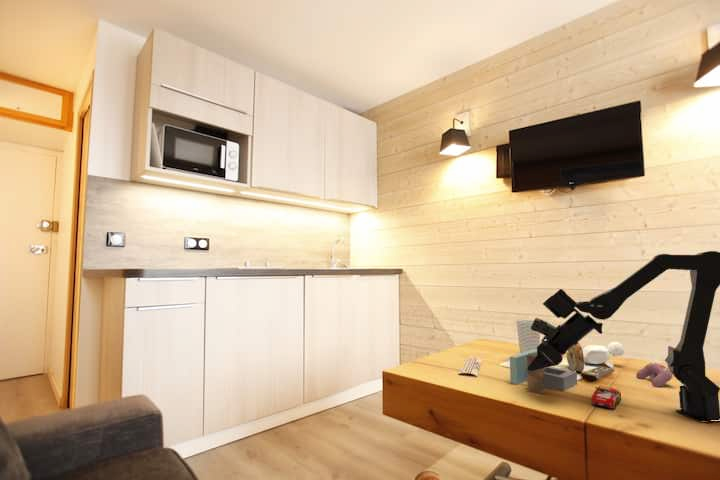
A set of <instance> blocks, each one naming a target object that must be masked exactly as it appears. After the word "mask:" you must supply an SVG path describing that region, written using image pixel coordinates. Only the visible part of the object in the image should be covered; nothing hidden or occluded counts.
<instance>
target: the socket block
mask: <svg viewBox="0 0 720 480" xmlns="http://www.w3.org/2000/svg"><path fill="white" fill-rule="evenodd" d="M577 374H578V372H575V371H572V370H571V369H570V370H569V369H565V368H564V369H563V368H559V367H555V366H550V367H546V368H544V379H545V388H550V389H554V390H558V391H563V392H565V391H567V390H569V389H571V388H574V387H575V386H576V385H578V375H577Z"/></svg>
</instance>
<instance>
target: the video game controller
mask: <svg viewBox="0 0 720 480" xmlns="http://www.w3.org/2000/svg"><path fill="white" fill-rule="evenodd" d="M635 375H636V376H635V377H636V378H637V379H640V380H641V379H642V380H643V379H646V378H649V381H651V386H653V387H656V388H657V387H663V386H664V385H665V384H667V383H668V382H669V381H671V380H672V378H673V374H672V373H671V372H670V370H669V369H668V367H667V366H665V365H663V364H660V363H654V362H653V363H652V362H649V363H648V364H646V365H644V367H642V368H641V369H639V370H638V371H637V372H636V374H635Z"/></svg>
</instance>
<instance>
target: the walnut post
mask: <svg viewBox="0 0 720 480" xmlns="http://www.w3.org/2000/svg"><path fill="white" fill-rule="evenodd" d="M536 356H537V354H532V353H528V354H527V367H528V366H529V365H530V363H531V362H532V361H533V360H534V358H535V357H536ZM527 377H528V380H527V391H528V392H530V393H535V394H536V393H537V394H545V392H546V387H545V379H544V368H541V369H537V370H533V371H529V370H528V369H527Z"/></svg>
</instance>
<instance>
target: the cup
mask: <svg viewBox="0 0 720 480" xmlns="http://www.w3.org/2000/svg"><path fill="white" fill-rule="evenodd" d="M534 320H535V319H516V320H515V324H516V331H517V332H516V333H517V338H518V346H519V347H518V348H519V354H520V353H523V352H527V351H530V350H533V349H537V347H538V345H539V344H540V343H541V333H539V332H537V331H533V330H532V329H531V326H532V324H533V322H534Z"/></svg>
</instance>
